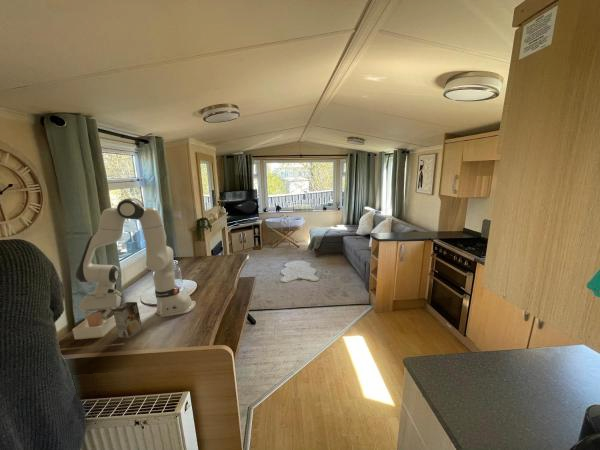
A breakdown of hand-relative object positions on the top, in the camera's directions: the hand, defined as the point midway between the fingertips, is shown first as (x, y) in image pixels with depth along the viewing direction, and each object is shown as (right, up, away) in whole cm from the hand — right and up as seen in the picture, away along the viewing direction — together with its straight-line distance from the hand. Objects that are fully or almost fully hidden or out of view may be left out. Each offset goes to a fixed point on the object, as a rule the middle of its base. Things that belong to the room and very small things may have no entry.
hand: (95, 318), depth 142 cm
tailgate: (0, -6, +8) cm, 10 cm away
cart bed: (+1, -8, +1) cm, 8 cm away
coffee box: (+21, -8, -2) cm, 22 cm away
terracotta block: (0, -7, +1) cm, 7 cm away
